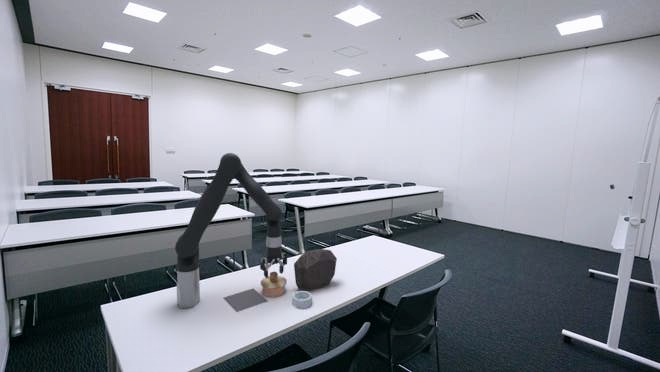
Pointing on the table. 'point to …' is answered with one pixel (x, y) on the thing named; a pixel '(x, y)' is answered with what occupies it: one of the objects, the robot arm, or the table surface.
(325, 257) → the decorative stone
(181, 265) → the robot arm
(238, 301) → the mat
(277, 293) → the bowl
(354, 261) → the table surface
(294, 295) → the small bowl
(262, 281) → the lid
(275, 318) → the table surface
